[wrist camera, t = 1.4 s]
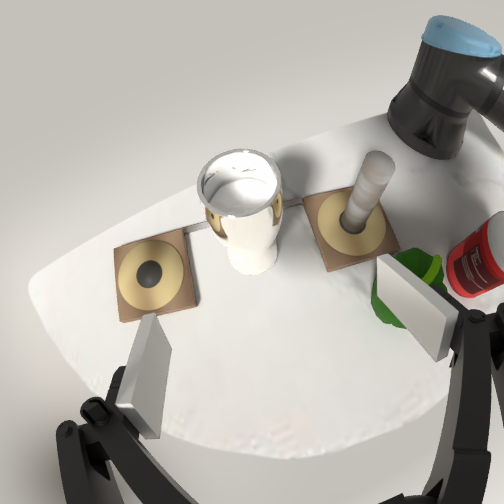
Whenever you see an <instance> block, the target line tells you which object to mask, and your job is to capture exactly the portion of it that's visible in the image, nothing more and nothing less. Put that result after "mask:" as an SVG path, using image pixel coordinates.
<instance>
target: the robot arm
mask: <svg viewBox="0 0 504 504" xmlns="http://www.w3.org/2000/svg"><path fill="white" fill-rule="evenodd" d="M421 38H422V43H421V46H420V49H419V53H418V55H417V59H416V61H415V64H414V67H413V70H412V73H411V76H410V79H409V81H408V83H407V84H406V85H405V86H404V87H403V88H402V89H401V90H400V91H399V93H398V94H397V95H396V96H395V97H394V98H393V99H392V101H391V103H390V106H389V109H388V120H389V123H390V125H391V127H392V129H393V130H394V131H395V133H396V134H397V135H398V136H399V137H400V138H401V139H402V140H403V141H404V142H405V143H406V144H408V145H409V146H410V147H412V148H413V149H415V150H416V151H418V152H420V153H422V154H424V155H426V156H429V157H432V158H435V159H450V158H452V157H454V156H455V155H456V154H457V152H458V151H459V149H460V148H461V146H462V143H463V136H464V132H465V127H466V121H467V117H468V115H469V114H470V112H471V110H472V109H474V110H476V111H477V112H479V113H480V114H481V115H483V116H484V117H485V118H487V119H488V120H489V121H491V122H492V123H493V124H494V125H495V126H497V127H498V128H499V129H500V130H502V131H503V132H504V55H502V47H501V45H500V43H499V42H498V41H497V40H496V39H494V38H493V37H492V36H490V35H488V34H487V33H486V32H484V31H483V30H481V29H479V28H477V27H475V26H473V25H471V24H469V23H467V22H464V21H462V20H459V19H456V18H453V17H449V16H442V15H438V16H434V17H432V18H430V20H429V21H428V24H427V26H426V29H425V32H424V34H423V35H422V37H421ZM377 296H378V297H379V298H380V299H381V300H382V301H383V303H384V304H385V305H386V306H387V307H388V308H389V309H390V310H391V311H392V312H393V314H394V315H395V316H396V317H397V318H398V319H399V320H400V321H401V323H402V324H403V325H404V326H405V327H406V328H407V329H408V330H409V332H410V333H411V334H412V335H413V336H414V337H415V339H416V340H417V341H418V342H419V343H420V344H421V346H422V347H423V348H424V349H425V350H426V351H427V353H428V354H429V355H430V356H431V357H432V359H433V360H434V361H435V362H438V361H440V360H441V359H443V358H445V357H447V356H448V352H449V349H450V348H451V349H452V350H453V351H454V354H453V357H452V360H451V363H450V366H449V367H452V370H451V379H450V387H449V394H448V401H447V407H446V413H445V418H444V424H443V429H442V433H441V438H440V442H439V446H438V450H437V454H436V458H435V461H434V465H433V469H432V472H431V475H430V477H429V480H428V482H427V484H426V485H425V487H424V490H423V492H422V495H413V496H407V497H404V495H403V494H402V493H401V494H399V495H397V496H395V497H393V498H391V499H388V500H386V501H384V502H381V503H379V504H482V501H483V497H484V493H485V489H486V484H487V479H488V474H489V469H490V463H491V453H490V452H489V451H487V443H488V436H489V426H490V413H491V373H492V377H493V381H494V384H495V388H496V392H497V396H498V401H499V405H500V410H501V415H502V420H503V426H504V303H500V304H499V305H498V308H497V311H496V313H492V314H487V315H486V314H485V313H484V312H482V311H480V310H476V309H471V310H468V309H467V308H465V307H464V306H463V305H462V304H461V303H460V302H458V301H457V300H456V299H455V298H454V297H453V298H452V296H451V295H450V294H449V293H447V292H446V291H445V290H444V289H442V288H441V287H439V286H436V285H434V284H432V285H430V286H428V285H427V284H426V283H425V282H423V281H422V280H421V279H420V278H418V277H417V276H416V275H415V274H413V273H412V272H411V271H410V270H408V269H407V268H406V267H405V266H403V265H402V264H401V263H399V262H398V261H397V260H396V259H394V258H393V257H392V256H390V255H389V254H388V253H387V254H383V255H380V256H377ZM171 351H172V348H171V346H170V344H169V342H168V340H167V338H166V336H165V333H164V331H163V329H162V327H161V325H160V323H159V321H158V318H157V316H156V314H155V313H151V314H146V315H143V317H142V319H141V322H140V325H139V328H138V331H137V334H136V337H135V340H134V343H133V346H132V349H131V352H130V355H129V359H128V362H127V365H126V366H121V367H119V368H118V369H117V370H116V372H115V373H114V375H113V378H112V381H111V382H112V383H111V384H110V387H109V388H110V389H109V390H108V393H107V397H106V400H105V401H104V400H103V399H102V398H100V397H92V398H90V399H88V400H87V401H86V402H84V403H83V405H82V406H81V410H80V414H81V416H82V417H83V418H84V419H85V420H86V421H87V424H83V425H80V426H78V425H77V424H76V423H75V422H73V421H71V420H68V421H64V422H63V423H61V424H60V425H59V426H58V428H57V430H56V441H57V451H58V458H59V466H60V472H61V478H62V484H63V489H64V494H65V498H66V502H67V504H124V502H123V499H122V497H121V494H120V491H119V489H118V486H117V483H116V480H115V478H114V474H113V471H112V468H111V465H110V462H109V460H112V462H113V464H114V465H115V466H116V468H117V470H118V471H119V472H120V474H121V475H122V477H123V478H124V479H125V481H126V482H127V484H128V485H129V486H130V487H131V489H132V490H133V492H134V493H135V494H136V496H137V497H138V498H139V499H140V501H141V502H142V503H143V504H199V503H197V502H196V501H195V500H194V499H193V498H192V497H191V496H190V495H189V494H188V493H187V492H186V491H185V490H184V489H183V488H182V487H181V486H180V485H179V484H177V482H176V481H175V480H174V479H173V478H172V477H171V476H170V475H169V474H168V473H167V472H166V471H165V470H164V469H163V467H161V465H160V464H159V463H158V462H157V461H156V460H155V458H154V457H153V456H152V455H151V454H150V453H149V452H148V450H147V449H146V448H145V447H144V446H143V444H142V443H141V442H140V441H139V440H138V439H139V433H140V434H141V435H142V436H143V437H144V438H145V439H159V438H160V433H161V424H162V416H163V407H164V399H165V392H166V385H167V377H168V371H169V364H170V357H171Z"/></svg>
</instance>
